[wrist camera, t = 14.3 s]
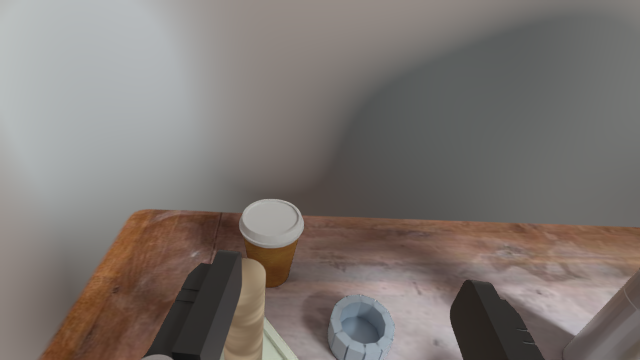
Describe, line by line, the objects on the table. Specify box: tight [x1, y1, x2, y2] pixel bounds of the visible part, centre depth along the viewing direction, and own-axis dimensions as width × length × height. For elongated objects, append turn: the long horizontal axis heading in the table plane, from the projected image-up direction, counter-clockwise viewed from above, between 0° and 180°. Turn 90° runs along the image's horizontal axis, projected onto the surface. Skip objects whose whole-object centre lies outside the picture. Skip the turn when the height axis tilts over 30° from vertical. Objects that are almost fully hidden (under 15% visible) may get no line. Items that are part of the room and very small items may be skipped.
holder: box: [327, 295, 395, 360], centre depth 42 cm, size 8×8×4 cm
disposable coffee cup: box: [239, 199, 304, 288], centre depth 48 cm, size 10×10×12 cm
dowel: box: [224, 258, 266, 360], centre depth 32 cm, size 4×4×18 cm
